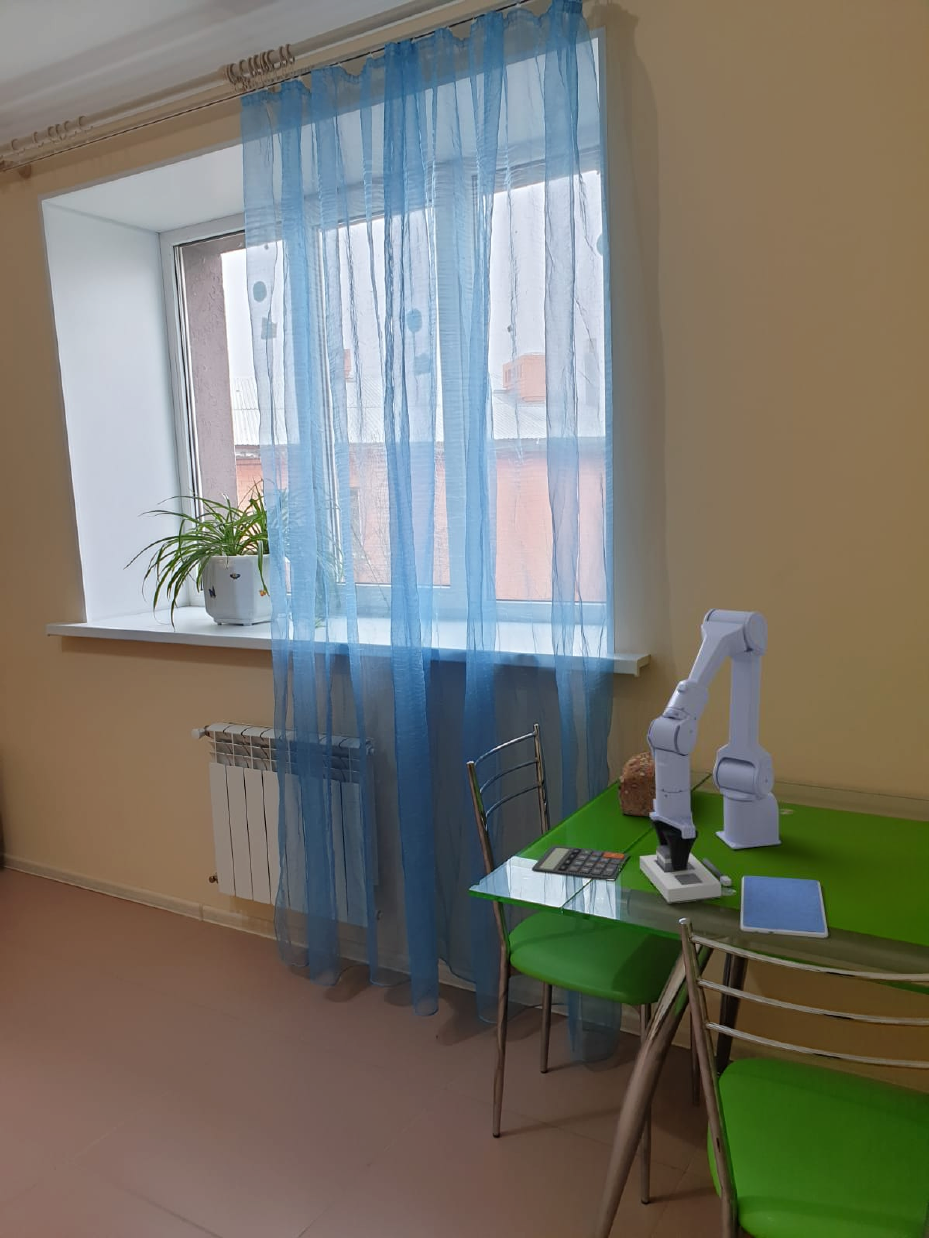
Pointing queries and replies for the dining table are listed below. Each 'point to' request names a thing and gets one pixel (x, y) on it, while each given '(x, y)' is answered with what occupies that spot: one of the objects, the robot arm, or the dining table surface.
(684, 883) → the switch plate
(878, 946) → the dining table surface
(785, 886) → the tablet computer
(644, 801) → the bread
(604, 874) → the calculator
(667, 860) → the block
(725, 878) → the cable
